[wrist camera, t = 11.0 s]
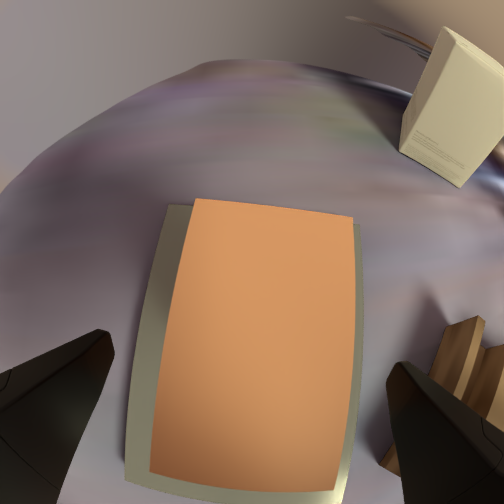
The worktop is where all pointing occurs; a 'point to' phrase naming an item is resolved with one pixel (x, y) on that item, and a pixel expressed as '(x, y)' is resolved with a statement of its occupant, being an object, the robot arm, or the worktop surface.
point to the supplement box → (455, 109)
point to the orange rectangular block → (257, 350)
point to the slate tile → (149, 367)
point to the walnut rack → (466, 375)
